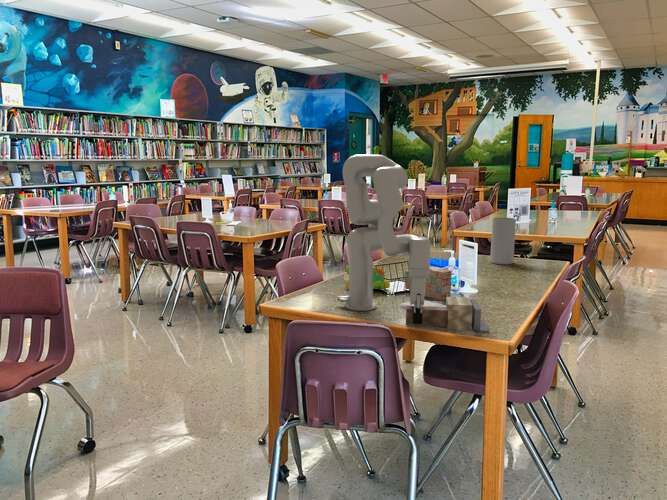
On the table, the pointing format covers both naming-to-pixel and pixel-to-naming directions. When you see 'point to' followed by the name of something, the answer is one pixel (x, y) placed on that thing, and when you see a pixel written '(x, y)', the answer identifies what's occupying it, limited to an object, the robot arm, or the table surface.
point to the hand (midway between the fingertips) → (417, 321)
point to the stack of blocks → (435, 283)
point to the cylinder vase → (503, 240)
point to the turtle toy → (374, 279)
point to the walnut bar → (429, 316)
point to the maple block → (459, 313)
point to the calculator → (426, 303)
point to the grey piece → (477, 318)
